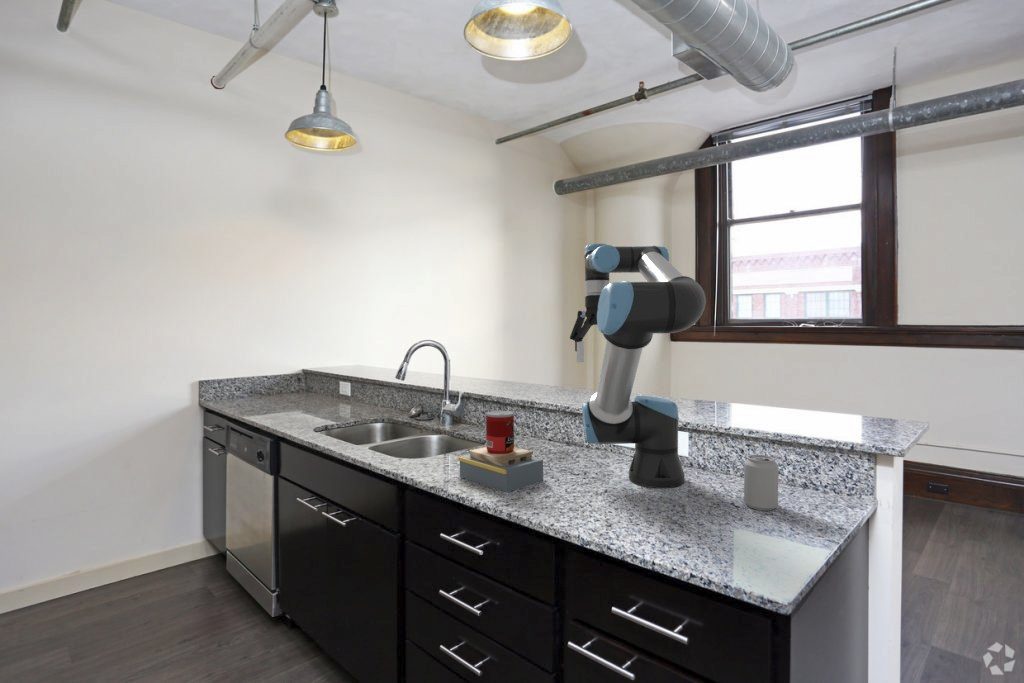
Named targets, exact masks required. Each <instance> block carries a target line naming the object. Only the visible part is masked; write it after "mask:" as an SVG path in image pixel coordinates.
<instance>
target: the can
mask: <svg viewBox="0 0 1024 683" xmlns="http://www.w3.org/2000/svg"><path fill="white" fill-rule="evenodd" d="M746 458H747V459H746V460H745V461H744V462H743V503H745V504H746V506H747V507H749V508H750V509H752V510H753V509H754V510H756V511H762V512H763V511H764V512H766V511H773V510H775V508H777V507H778V506H779V464H778V463H777V462H776V458H775V457H773V456H770V455H766V454H765V455H764V454H749V455H747V456H746Z"/></svg>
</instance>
